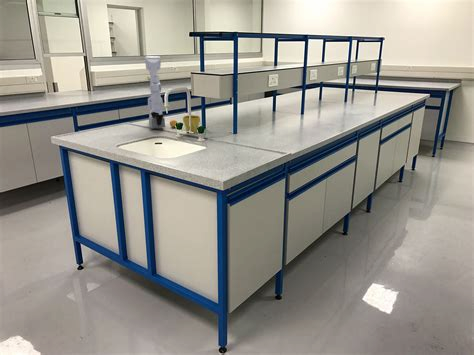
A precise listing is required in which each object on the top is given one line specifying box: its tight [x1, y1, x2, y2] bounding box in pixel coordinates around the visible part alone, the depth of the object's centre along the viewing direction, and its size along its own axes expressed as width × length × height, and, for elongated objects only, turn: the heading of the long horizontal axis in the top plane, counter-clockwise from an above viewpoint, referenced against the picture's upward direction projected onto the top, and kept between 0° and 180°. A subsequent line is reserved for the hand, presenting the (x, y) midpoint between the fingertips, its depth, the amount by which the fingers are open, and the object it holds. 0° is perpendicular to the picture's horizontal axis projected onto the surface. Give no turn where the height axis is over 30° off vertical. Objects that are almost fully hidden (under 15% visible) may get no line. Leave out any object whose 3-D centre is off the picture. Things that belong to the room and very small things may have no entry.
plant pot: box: [182, 114, 201, 133], centre depth 231 cm, size 10×10×10 cm
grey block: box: [148, 116, 166, 129], centre depth 240 cm, size 6×8×6 cm
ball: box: [169, 119, 178, 128], centre depth 246 cm, size 5×5×5 cm
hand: (157, 124), depth 241 cm, fingers closed on grey block, 6 cm apart
